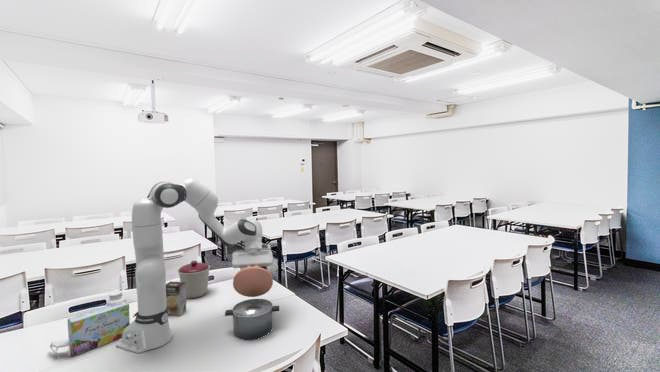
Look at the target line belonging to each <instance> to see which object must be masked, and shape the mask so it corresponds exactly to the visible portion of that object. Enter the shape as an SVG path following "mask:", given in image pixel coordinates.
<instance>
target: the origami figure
mask: <svg viewBox="0 0 660 372" xmlns="http://www.w3.org/2000/svg"><path fill="white" fill-rule="evenodd" d="M66 347H68V357H71V353H70V351H71V348H70V342H69V338H66V339H62V340H61V339H60V340H55V341H51V343H50V345H49V348H50V349H51V351H52V352H54V353H55V355H57V358H58V357H59V358H60V354H59V352H58V350H59V349H61V348H66ZM54 348H56V349H54Z"/></svg>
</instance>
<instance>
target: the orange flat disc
mask: <svg viewBox="0 0 660 372" xmlns="http://www.w3.org/2000/svg"><path fill="white" fill-rule="evenodd" d="M273 285H274V278H273V275H272V273H270V271H268V269H266V268H263V267H247V268H241V269H239V270H238V272H237V273H236V274H235V275H234V277H233V280H232V286H233V289H234V290H235V292H236V293H238V294H240V295H241V296H243V297H248V298H256V297H261V296H263V295H265V294H266V293H268V292H269V291H270V290H271V289H272V287H273Z"/></svg>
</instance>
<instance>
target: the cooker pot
mask: <svg viewBox="0 0 660 372" xmlns="http://www.w3.org/2000/svg"><path fill="white" fill-rule="evenodd" d="M274 312H275V313H276V312H280V305H273V303H272V302H271V301H270V300H268V299H265V298H251V299H247V300H243V301H240V302H238V303H236V304H235V305H234V306H233V308H232V309H227V310H225V312H224V316H225V317H229V316H231V317H232V323H233V335H234V337H235V338H237V339H238V338H239V339H238V340H241V339H243V341H254V339H255V340H258V338H259V339H262V338H264V337H263V336H265V335H266V336H268V335H269V334H270V333H271V332H272V331H271V330H273V329H272V328H273V324H274V323H273V322H274V320H273V313H274ZM268 333H269V334H268ZM267 334H268V335H267ZM266 336H265V337H266ZM261 337H262V338H261Z"/></svg>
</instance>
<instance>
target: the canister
mask: <svg viewBox="0 0 660 372" xmlns="http://www.w3.org/2000/svg"><path fill="white" fill-rule="evenodd" d="M210 268H211V266H210V265H209V264H208V263H205V262H198V261H197V260H192V261H191V262H190V263H187V264H185V265H183V266H181V267H180V268H178V269H177V274H178V275H179V282H186V299H195V298H200V297H202V296H204V295H206V293H207V291H208V286H209V273H210Z"/></svg>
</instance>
